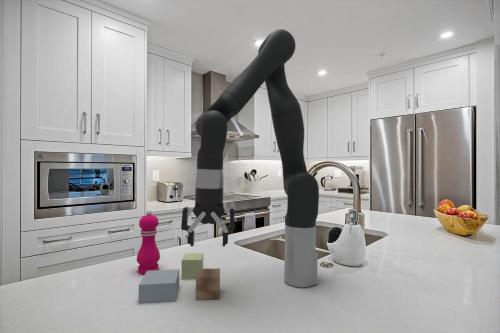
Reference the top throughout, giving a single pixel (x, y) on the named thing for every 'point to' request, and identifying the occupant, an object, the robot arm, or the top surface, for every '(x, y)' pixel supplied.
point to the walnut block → (208, 284)
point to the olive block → (191, 265)
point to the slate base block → (159, 286)
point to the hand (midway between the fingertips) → (208, 245)
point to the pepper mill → (148, 244)
